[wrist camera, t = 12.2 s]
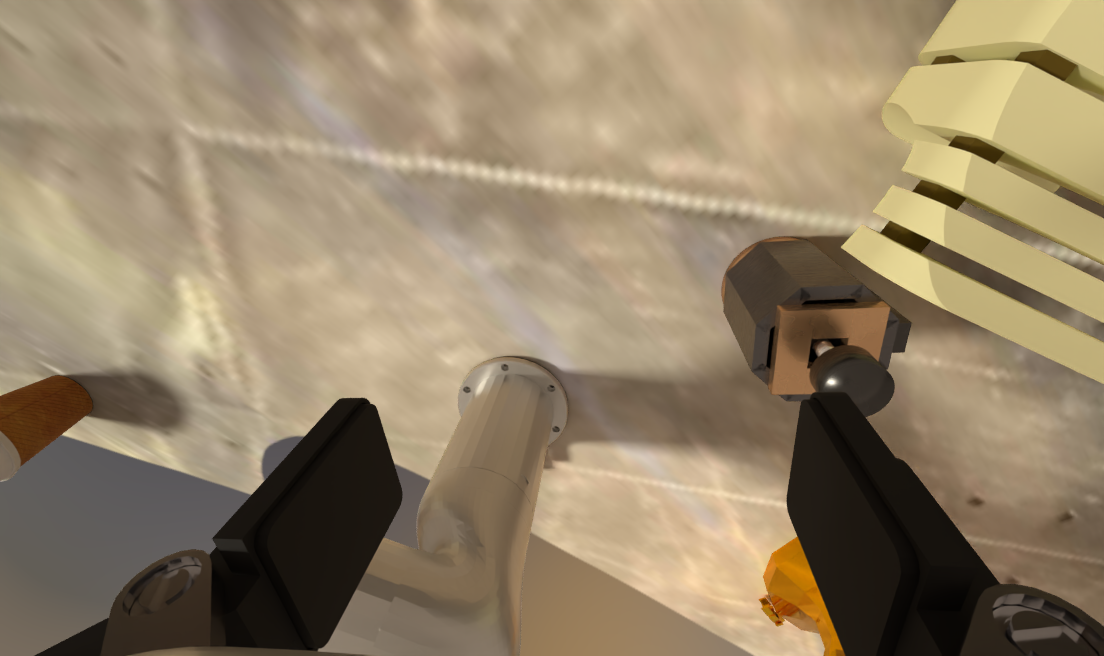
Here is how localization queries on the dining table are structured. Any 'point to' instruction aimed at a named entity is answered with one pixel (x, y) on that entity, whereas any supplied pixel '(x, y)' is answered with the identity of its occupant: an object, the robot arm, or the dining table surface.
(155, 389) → the dining table surface
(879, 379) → the plunger
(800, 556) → the yellow tall piece
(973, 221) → the slatted curved stool
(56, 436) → the glass of beer
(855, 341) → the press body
